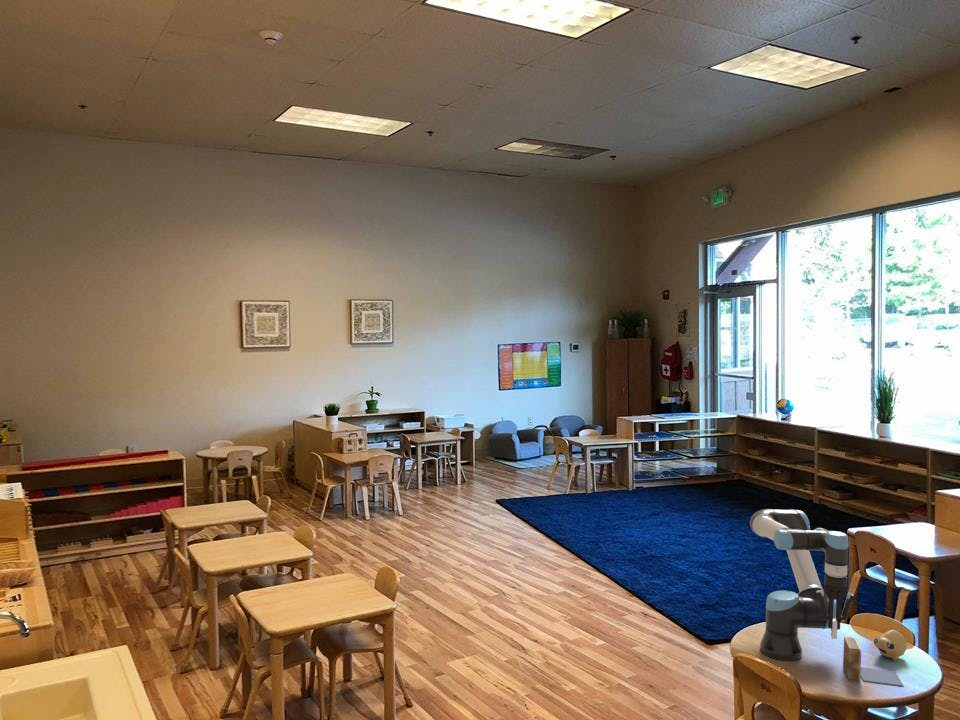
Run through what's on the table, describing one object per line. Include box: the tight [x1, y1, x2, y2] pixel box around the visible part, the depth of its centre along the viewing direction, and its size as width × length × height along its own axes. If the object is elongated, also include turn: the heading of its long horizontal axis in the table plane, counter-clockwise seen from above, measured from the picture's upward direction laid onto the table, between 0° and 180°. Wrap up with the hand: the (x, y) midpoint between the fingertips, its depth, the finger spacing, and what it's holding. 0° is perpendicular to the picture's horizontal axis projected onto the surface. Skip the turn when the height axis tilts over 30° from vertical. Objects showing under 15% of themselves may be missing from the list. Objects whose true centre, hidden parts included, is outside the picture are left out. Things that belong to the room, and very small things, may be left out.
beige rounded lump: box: [873, 629, 907, 661], centre depth 282 cm, size 10×12×11 cm
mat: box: [861, 666, 904, 687], centre depth 267 cm, size 13×11×1 cm
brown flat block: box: [842, 636, 862, 683], centre depth 268 cm, size 4×10×12 cm, turn 164°
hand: (833, 637), depth 269 cm, fingers closed
